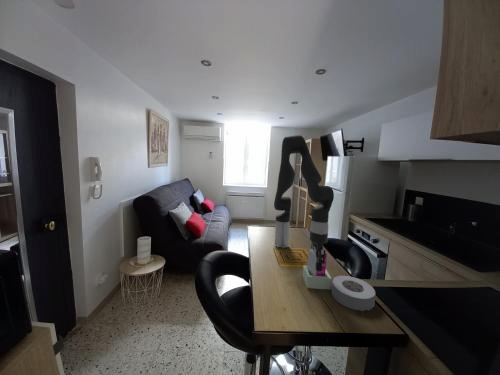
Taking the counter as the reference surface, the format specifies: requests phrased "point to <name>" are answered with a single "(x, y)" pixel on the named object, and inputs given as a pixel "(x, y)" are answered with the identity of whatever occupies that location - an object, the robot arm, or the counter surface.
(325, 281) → the holder
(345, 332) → the counter surface
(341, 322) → the counter surface
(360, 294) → the tape roll
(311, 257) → the supplement box
